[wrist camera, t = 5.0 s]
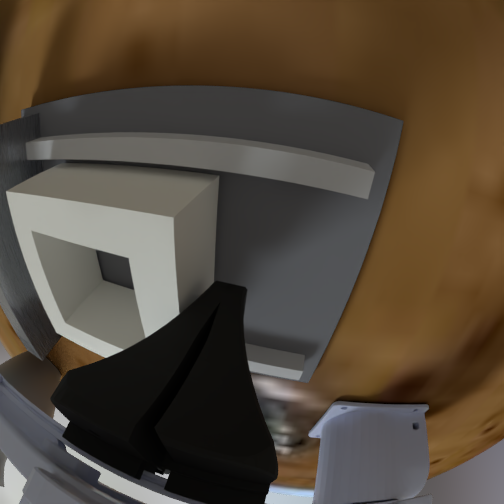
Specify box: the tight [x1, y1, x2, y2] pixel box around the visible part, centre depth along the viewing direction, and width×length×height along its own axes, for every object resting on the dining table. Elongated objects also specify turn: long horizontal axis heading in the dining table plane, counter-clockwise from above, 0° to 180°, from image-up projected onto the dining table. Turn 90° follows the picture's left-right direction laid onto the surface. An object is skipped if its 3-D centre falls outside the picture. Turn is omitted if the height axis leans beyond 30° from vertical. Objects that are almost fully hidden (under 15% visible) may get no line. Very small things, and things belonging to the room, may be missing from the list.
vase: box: [0, 351, 61, 487], centre depth 21 cm, size 14×14×25 cm
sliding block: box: [6, 163, 219, 358], centre depth 12 cm, size 9×9×4 cm
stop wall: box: [0, 113, 62, 361], centre depth 12 cm, size 2×15×6 cm, turn 173°
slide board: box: [21, 86, 403, 383], centre depth 13 cm, size 20×16×2 cm
